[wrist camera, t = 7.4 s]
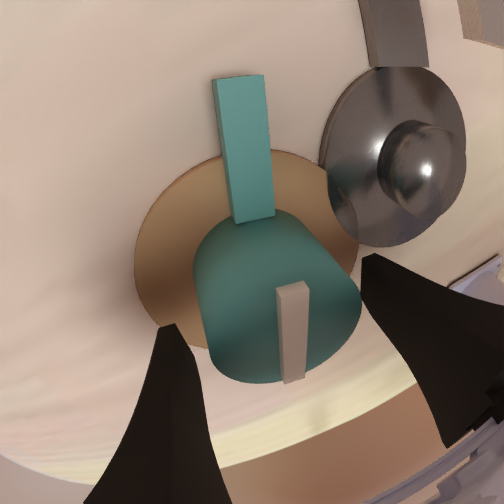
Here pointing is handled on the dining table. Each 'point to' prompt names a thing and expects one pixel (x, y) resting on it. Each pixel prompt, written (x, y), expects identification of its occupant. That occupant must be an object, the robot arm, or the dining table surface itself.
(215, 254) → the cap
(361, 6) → the dark grey handled bowl
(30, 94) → the dining table surface
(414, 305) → the robot arm
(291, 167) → the coaster
